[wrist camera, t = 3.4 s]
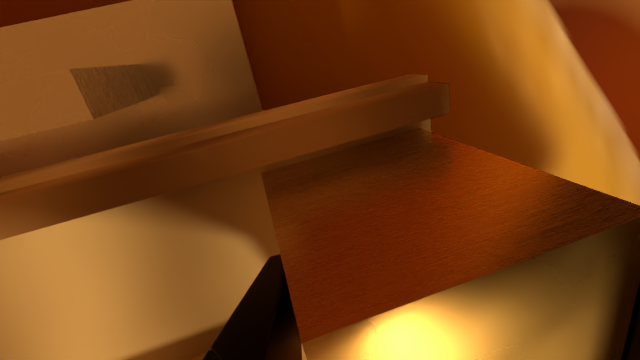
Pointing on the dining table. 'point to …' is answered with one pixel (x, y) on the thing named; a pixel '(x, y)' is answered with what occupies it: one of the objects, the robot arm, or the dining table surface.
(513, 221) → the tan block
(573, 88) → the dining table surface
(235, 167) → the beam
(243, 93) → the stand
